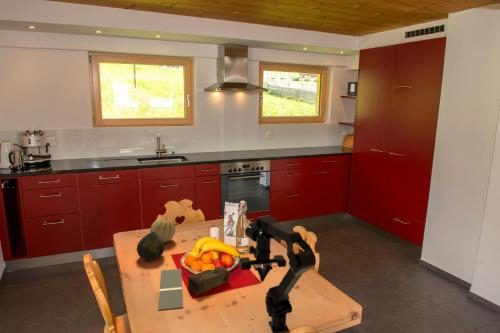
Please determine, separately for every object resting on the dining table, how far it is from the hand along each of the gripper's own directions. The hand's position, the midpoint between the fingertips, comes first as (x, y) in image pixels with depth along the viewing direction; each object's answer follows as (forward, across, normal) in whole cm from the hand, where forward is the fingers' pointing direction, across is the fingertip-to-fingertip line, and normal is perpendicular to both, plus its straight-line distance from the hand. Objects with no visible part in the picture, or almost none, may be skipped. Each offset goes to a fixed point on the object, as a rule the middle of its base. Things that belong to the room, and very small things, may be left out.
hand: (261, 281), depth 141 cm
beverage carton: (+14, +20, -23) cm, 33 cm away
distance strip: (+13, +37, -24) cm, 46 cm away
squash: (+13, +48, -58) cm, 76 cm away
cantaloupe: (+13, +42, -79) cm, 90 cm away
